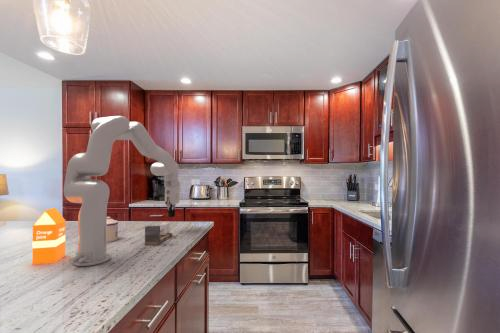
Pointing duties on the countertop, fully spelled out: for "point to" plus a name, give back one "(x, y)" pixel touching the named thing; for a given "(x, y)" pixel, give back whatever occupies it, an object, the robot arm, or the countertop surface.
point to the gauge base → (154, 235)
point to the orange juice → (49, 237)
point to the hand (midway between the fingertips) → (171, 216)
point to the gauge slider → (164, 228)
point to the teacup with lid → (112, 230)
